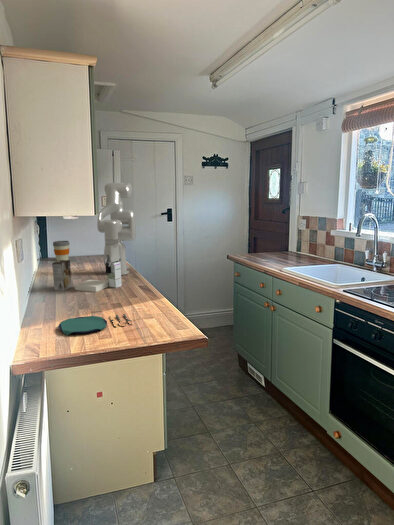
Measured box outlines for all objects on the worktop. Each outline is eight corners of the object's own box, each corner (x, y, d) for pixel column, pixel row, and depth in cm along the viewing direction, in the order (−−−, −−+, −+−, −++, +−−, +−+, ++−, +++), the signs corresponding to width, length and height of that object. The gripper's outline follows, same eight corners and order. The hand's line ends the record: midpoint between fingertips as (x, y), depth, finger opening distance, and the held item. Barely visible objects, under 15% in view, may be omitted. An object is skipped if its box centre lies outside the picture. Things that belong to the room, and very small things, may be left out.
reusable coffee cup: (53, 262, 325) (51, 243, 322) (55, 259, 337) (53, 241, 334) (69, 261, 327) (68, 242, 324) (71, 258, 339) (69, 240, 336)
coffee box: (62, 286, 245) (60, 259, 242) (72, 286, 244) (70, 260, 241) (54, 290, 236) (51, 262, 233) (64, 290, 235) (62, 263, 232)
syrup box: (122, 285, 244) (120, 261, 241) (115, 288, 239) (114, 263, 236) (114, 285, 247) (113, 261, 244) (107, 287, 242) (106, 262, 239)
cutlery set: (56, 323, 179) (56, 318, 179) (125, 315, 191) (125, 310, 190) (60, 339, 161) (60, 334, 161) (135, 329, 172) (135, 324, 172)
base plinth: (89, 284, 249) (89, 279, 248) (109, 286, 244) (109, 281, 244) (75, 290, 236) (74, 284, 235) (96, 291, 231) (95, 286, 231)
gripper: (114, 240, 247) (115, 268, 250) (97, 243, 231) (99, 274, 234) (125, 240, 245) (126, 269, 248) (109, 244, 229) (110, 274, 232)
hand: (113, 271), depth 241 cm, fingers open, 9 cm apart
